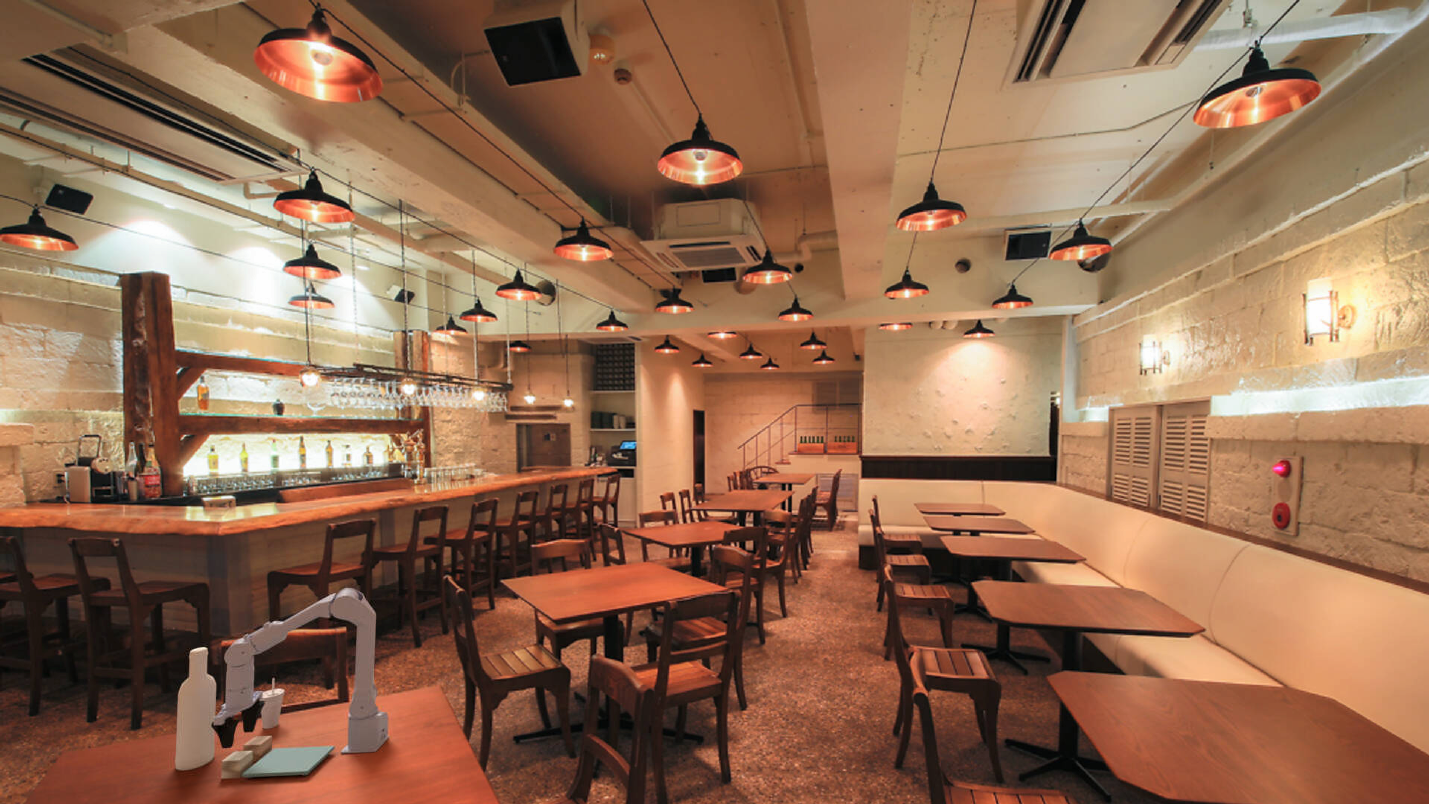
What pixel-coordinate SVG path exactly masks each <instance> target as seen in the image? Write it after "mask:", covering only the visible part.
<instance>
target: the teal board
mask: <svg viewBox="0 0 1429 804" xmlns="http://www.w3.org/2000/svg"><path fill="white" fill-rule="evenodd" d="M335 747H336V746H335V745H328V746H327V745H325V746H323V745H322V746H304V747H303V746H302V747H277V748H276V747H275V748H272V751H270V752H269V753H268V754H267V755H265V756H264V757H263V758H262V759H260V760H259V761H256V763H254V764H252V767H250V768H249V769H248V770H247V771H245V772H244V773H243V774H242V776H241V778H246V779H247V780H251V779H252V778H257V777H277V776H278V777H280V776H299V775H302V778H303V777H304V778H305V777H307V776H308V775H309V774H310V773H311V772H312V771H313V770H314V769H315V768H316V767H317V766H318V765H319V764H320V763H322V761H323V760H324V759H326V758H327V757H328V756H329V755H330V754H331V753H332V752H333V751H334V750H335Z"/></svg>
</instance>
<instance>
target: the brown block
mask: <svg viewBox="0 0 1429 804" xmlns="http://www.w3.org/2000/svg"><path fill="white" fill-rule="evenodd" d="M272 747H273V736H272V735H260V736H259V735H258V736H254V737H252V738H251V739H250V740H249V741H247V742H245V744H243V745H242V751H253V760H252V763H253V762H256V763H257V762H258V761H259V760H260V759H262V758H263V757H264V756H265V755H267V754H268V753H269V752H270V751H272V750H273V748H272Z"/></svg>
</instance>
